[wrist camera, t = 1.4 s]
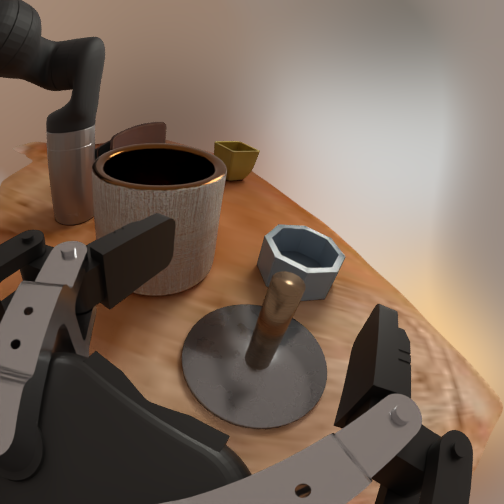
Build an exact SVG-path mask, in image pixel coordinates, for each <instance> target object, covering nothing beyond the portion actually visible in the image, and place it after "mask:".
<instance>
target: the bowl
mask: <svg viewBox="0 0 504 504" xmlns="http://www.w3.org/2000/svg"><path fill="white" fill-rule="evenodd" d="M344 259H345V256H344V254H343V253H342V252H341V250H340V249H339V248H338V247H337V245H336V244H335V243H334V241H333V240H332V238H330V237H327V236H325V235H323V234H321V233H319V232H317V231H315V230H313V229H311V228H308V227H306V226H297V225H278V226H276V227H275V228H274V229H273V230H272V231H270V232H269V233H268V234H267V235H266V236H264V240H263V244H262V247H261V251H260V255H259V258H258V262H257V265H258V268H259V270H260V272H261V275H262V277H263V280H264V282H265V284H266V286H267V287H269V284H270V281H271V278H272V276H273V275H274V274H275V273H277V272H281V271H286V272H291V273H294V274H296V275H297V276H299V277H300V278H301V279H302V280H303V281H304V283H305V286H306V289H305V291H304V294H303V296H302V298H301V300H300V301H307V300H319V299H325V297H326V295H327V293H328V291H329V289H330V287H331V285H332V283H333V282H334V280H335V278H336V276H337V274H338V272H339V270H340V267H341V265H342V263H343V261H344Z"/></svg>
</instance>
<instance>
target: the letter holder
mask: <svg viewBox="0 0 504 504" xmlns="http://www.w3.org/2000/svg"><path fill="white" fill-rule="evenodd" d="M165 138H166V124H165V123H164V122H153V123H145V124H141V125H137V126H134V127H131V128H128V129H126V130H124V131H122V132H120V133H117V134H116V135H114V136H113V137H112V139H111V140H110V141H108V142H106V143H104V144H102V145H101V146H100V147H98V148H96V149H95V160H96V159H97V158H98V157H99V156H101V155H102V154H104V153H106V152H108V151H111V150H113V149H117V148H120V147H124V146H129V145H135V144H146V143H165Z"/></svg>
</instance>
